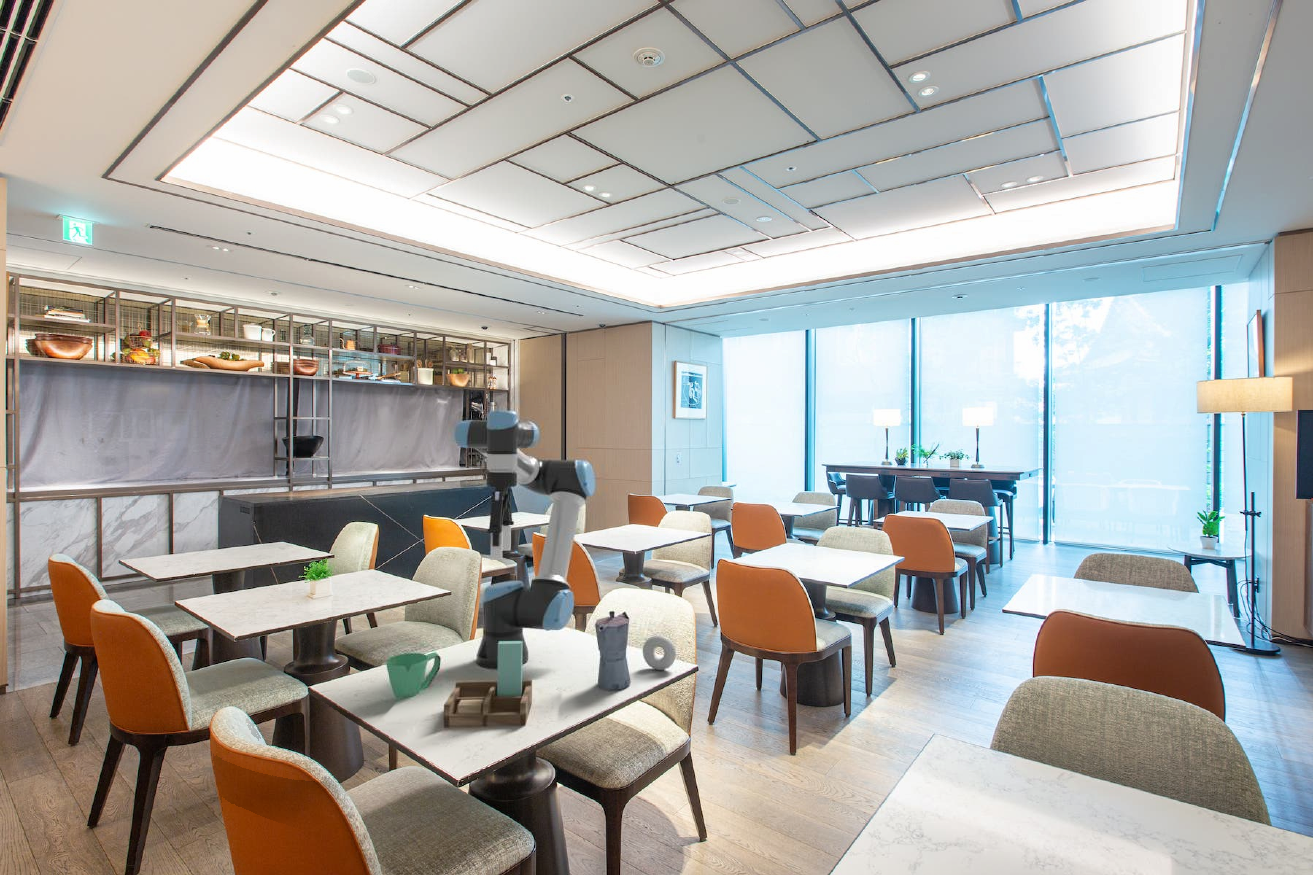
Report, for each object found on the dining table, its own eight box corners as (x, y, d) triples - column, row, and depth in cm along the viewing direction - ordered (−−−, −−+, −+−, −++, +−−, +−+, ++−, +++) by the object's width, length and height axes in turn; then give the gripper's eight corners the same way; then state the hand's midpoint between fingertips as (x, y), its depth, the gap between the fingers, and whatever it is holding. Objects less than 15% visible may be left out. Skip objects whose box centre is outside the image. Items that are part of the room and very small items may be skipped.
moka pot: (584, 691, 169) (585, 614, 169) (610, 672, 183) (611, 601, 183) (617, 696, 165) (618, 618, 165) (641, 676, 179) (641, 605, 180)
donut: (677, 669, 185) (677, 635, 186) (673, 673, 182) (674, 638, 182) (644, 665, 189) (645, 631, 189) (640, 669, 185) (641, 634, 186)
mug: (401, 709, 156) (402, 668, 156) (377, 700, 161) (378, 660, 162) (450, 690, 168) (451, 652, 168) (427, 682, 174) (427, 645, 174)
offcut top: (460, 708, 148) (460, 699, 148) (483, 708, 149) (483, 699, 149) (457, 714, 145) (457, 705, 145) (480, 713, 145) (481, 704, 146)
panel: (498, 708, 153) (499, 641, 154) (521, 707, 154) (522, 640, 154) (497, 711, 151) (497, 643, 152) (520, 711, 152) (521, 643, 152)
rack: (456, 711, 155) (456, 680, 155) (531, 710, 156) (532, 679, 156) (443, 734, 143) (444, 700, 143) (525, 732, 144) (525, 698, 144)
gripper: (495, 469, 176) (494, 547, 175) (476, 473, 151) (475, 563, 150) (523, 469, 176) (522, 546, 176) (509, 473, 151) (508, 563, 151)
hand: (500, 554), depth 163 cm, fingers open, 13 cm apart
